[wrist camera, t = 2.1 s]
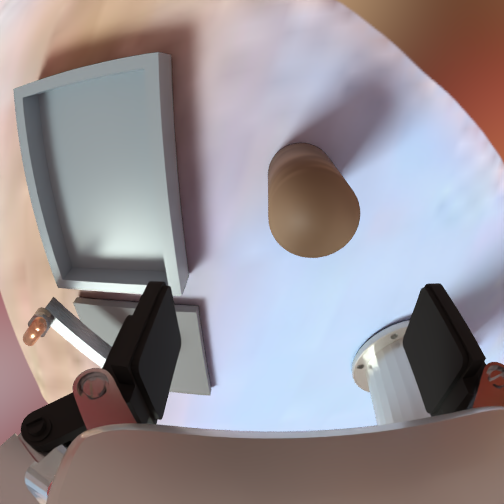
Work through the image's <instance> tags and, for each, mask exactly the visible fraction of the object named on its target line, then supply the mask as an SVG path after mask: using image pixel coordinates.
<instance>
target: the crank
mask: <svg viewBox="0 0 504 504" xmlns="http://www.w3.org/2000/svg"><path fill="white" fill-rule="evenodd" d="M28 326H29V328H28V329H27V331H26V332H25V334H24V335H23V341H24V343H25V344H26V345H28V346H32V345H34V344H35V342H36V341H37V340H38V339H39V337H44V336H45V334H46V333H47V331H48V330H49V328H50V327H52V328H53V329H54V330H56V331H57V332H58V333H59V334H60V335H61V336H63V337H64V338H65V339H66V340H67V341H69V342H70V343H71V344H72V345H73V346H75V347H76V348H77V349H78V350H80V351H81V352H82V353H83V354H85V355H86V356H87V357H88V358H90V359H91V360H92V361H94V362H95V363H96V364H98V365H99V366H100V367H102V368H103V365H104V363H105V361H106V359H107V357H108V354H109V352H110V350H111V348H112V346H110V345H109V344H108V343H106V342H105V341H104V340H103V339H101V338H100V337H99V336H98V335H97V334H95V333H94V332H93V331H92V330H91V329H89V328H88V327H87V326H86V325H85V324H83V323H82V322H81V321H80V320H79V319H78V318H76V317H75V316H74V315H73V314H72V313H71V312H70V311H68V310H67V309H66V308H65V307H64V306H63V305H62V304H61V303H60V302H59V301H57V300H56V299H55V298H54V297H53V298H52V300H51V301H50V302H49V304H48V305H47V306H46V308H39V309H38V310H37V311H36V313H35V314H34V315H33V317H32V318H31V320H30V321H29V322H28Z"/></svg>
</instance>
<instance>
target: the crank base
mask: <svg viewBox="0 0 504 504" xmlns="http://www.w3.org/2000/svg"><path fill="white" fill-rule="evenodd" d="M138 303H139V302H126V301H113V300H101V299H90V298H80V297H77V298H76V300H75V301H74V306H75V308H76V311H77V314H78V316H79V318H80V321H81V322H82V323H83V324H85V325H86V326H87V327H88V328H89V329H91V330H92V331H93V332H94V333H95V334H97V335H98V336H99V337H100V338H101V339H103V340H104V341H105V342H106V343H108V344H109V345H110V346H113V344H114V341H115V339H116V337H117V335H118V333H119V331H120V329H121V327H122V325H123V322H124V320H125V319H126V317H127V316H128V315H133V313H134V311H135V309H136V307H137V305H138ZM174 306H175V311H176V316H177V321H178V326H179V330H180V335H181V349H180V352H179V356H178V360H177V363H176V367H175V371H174V375H173V379H172V382H171V386H170V390H169V392H177V393H187V394H197V395H210V393H211V385H210V380H209V374H208V368H207V362H206V355H205V349H204V343H203V336H202V329H201V323H200V316H199V308H198V306H189V305H174Z"/></svg>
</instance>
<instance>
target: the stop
mask: <svg viewBox="0 0 504 504" xmlns="http://www.w3.org/2000/svg"><path fill="white" fill-rule="evenodd" d="M268 217H269V226H270V229H271V232H272V234H273V236H274V238H275V239H276V241H277V242H278V243H279V244H280V245H281V246H282V247H283V248H284V249H285V250H287V251H289V252H290V253H293V254H295V255H298V256H301V257H308V258H317V257H323V256H327V255H330V254H332V253H335V252H336V251H338V250H340V249H341V248H343V247H344V246H345V245H346V244H347V243H348V242H349V241H350V240H351V239H352V237H353V236H354V234H355V232H356V230H357V227H358V225H359V220H360V207H359V202H358V199H357V197H356V195H355V193H354V192H353V190H352V189H351V187H350V186H349V185H348V183H347V182H346V180H345V179H344V178H343V176H342V175H341V174H340V172H339V171H338V170H337V168H336V167H335V166H334V164H333V163H332V162H331V160H330V159H329V158H328V156H327V155H326V154H325V153H324V152H323V151H322V150H321V149H319V148H318V147H316V146H314V145H311V144H307V143H295V144H291V145H288V146H286V147H284V148H282V149H281V150H280V151H278V152H277V153H276V155H275V156H274V157H273V159H272V161H271V163H270V165H269V170H268Z"/></svg>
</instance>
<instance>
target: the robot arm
mask: <svg viewBox="0 0 504 504" xmlns="http://www.w3.org/2000/svg"><path fill="white" fill-rule="evenodd" d="M180 349H181V335H180V330H179V326H178V321H177V316H176V311H175V306H174V301H173V295H172V290H171V287H170V286H166V283H165V282H162V281H149V282H148V284H147V286H146V288H145V290H144V292H143V294H142V296H141V298H140V300H139V303H138V305H137V307H136V309H135V311H134V313H133V315H128V316H127V317H126V319H125V320H124V322H123V325H122V327H121V329H120V331H119V333H118V335H117V337H116V339H115V341H114V344H113V346H112V348H111V350H110V352H109V354H108V357H107V359H106V361H105V363H104V365H103V368H102V369H100V368H92V369H88V370H86V371H84V372H82V373H81V374H80V375H79V376H78V377H77V378H76V379H75V381H74V383H73V393H71V394H69V395H67V396H65V397H63V398H60V399H58V400H56V401H54V402H52V403H50V404H48V405H46V406H44V407H42V408H40V409H38V410H36V411H33V412H32V413H30V414H29V415H28V416H27V417H26V418H25V419H24V420H23V423H22V426H21V433H20V434H19V435H18V436H17V435H16V434H14V435H12V436H11V437H10V438H9V439H8V440H7V441H6V442H4V443H3V444H2V445H1V446H0V504H504V365H503V364H501V363H498V362H491V363H488V364H487V365H486V364H485V362H484V361H485V359H486V358H485V356H484V354H483V352H482V350H481V349H480V347H479V345H478V343H477V341H476V340H475V338H474V336H473V334H472V333H471V331H470V329H469V328H468V326H467V324H466V323H465V321H464V319H463V318H462V316H461V314H460V313H459V311H458V309H457V308H456V306H455V305H454V303H453V301H452V300H451V298H450V297H449V295H448V294H447V292H446V291H445V289H444V288H443V286H442V285H441V284H439V283H438V284H426V285H425V287H424V288H422V289H421V291H420V294H419V297H418V300H417V303H416V305H415V308H414V311H413V314H412V316H411V319H410V320H408V321H403V322H400V323H397V324H394V325H392V326H390V327H388V328H386V329H384V330H382V331H380V332H379V333H377V334H376V335H374V336H373V337H372V338H370V339H369V340H368V341H367V342H366V343H365V344H364V345H363V346H362V347H361V348H360V349H359V351H358V352H357V354H356V355H355V357H354V360H353V362H352V375H353V379H354V381H355V383H356V384H357V386H358V387H360V388H361V389H363V390H365V391H367V392H370V394H371V399H372V403H373V407H374V412H375V416H376V421H377V425H376V426H367V427H358V428H347V429H334V430H318V431H287V432H260V431H231V430H215V429H200V428H188V427H178V426H168V425H156V423H157V419H159V420H161V419H162V417H163V414H164V410H165V406H166V402H167V398H168V394H169V390H170V386H171V382H172V379H173V375H174V371H175V367H176V363H177V360H178V356H179V352H180ZM54 475H55V476H54ZM52 481H53V482H52ZM51 482H52V485H51V489H50V492H49V495H48V496H47V489H48V486H49V485H50V483H51Z"/></svg>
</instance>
